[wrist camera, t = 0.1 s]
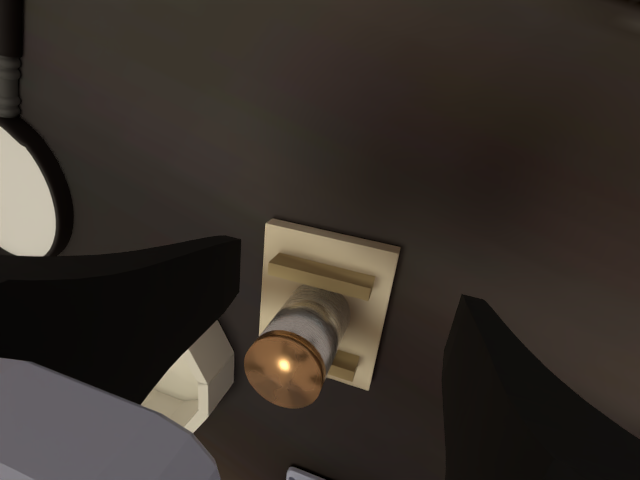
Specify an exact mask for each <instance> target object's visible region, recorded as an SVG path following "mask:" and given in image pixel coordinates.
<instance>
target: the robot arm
mask: <svg viewBox="0 0 640 480" xmlns="http://www.w3.org/2000/svg"><path fill="white" fill-rule="evenodd" d="M240 255H241V239H237V238H233V237H229V236H213V237H207V238H201V239H196V240H191V241H186V242H181V243H176V244H171V245H166V246H160V247H154V248H148V249H143V250H137V251H130V252H122V253H112V254H101V255H82V256H13V255H0V480H221V479H220V475H219V472H218V468H217V465H216V462H215V459H214V458H213V457H212V456H211V454H210V453H209V452H208V451H207V450H206V448H205V447H204V446H203V445H202V444H201V442H200V441H199V440H198V439H197V438H196V436H195V435H194V434H193V433H192V432H191V431H189V430H187V429H186V428H184V427H183V426H181V425H179V424H178V423H176V422H175V421H173V420H171V419H170V418H168V417H166V416H165V415H163V414H162V413H159V412H157V411H154V410H152V409H149V408H147V407H144V406H142V405H141V404H142V403H143V401H144V400H145V399H146V397H147V396H148V395H149V393H150V392H151V391H152V389H153V388H154V387H155V386H156V385H157V383H158V382H159V381H160V380H161V378H162V377H163V376H164V375H165V373H166V372H167V371H168V370H169V368H170V367H171V366H172V365H173V364H174V363H175V362H176V361H177V360H178V359H179V358H180V357H181V356H182V355H183V354H184V353H185V352H186V351H187V350H188V349H189V348H190V347H191V346H192V345H193V344H194V343H195V342H196V341H197V340H198V339H199V338H200V337H201V336H202V335H203V334H204V333H205V332H206V331H207V330H208V329H209V328H210V327H211V326H212V325H213V324H214V322H215V321H216V320H217V319H218V318H219V317H220V316H221V315H222V314H223V313H224V312H225V311H226V309H227V308H228V307H229V305H230V304H231V303H232V301H233V300H234V298H235V297H236V295H237V294H238V293H239V283H240ZM442 394H443V412H444V429H445V446H446V477H445V480H640V439H638V438H637V437H635V436H634V435H632V434H631V433H629V432H628V431H626V430H625V429H623V428H622V427H620V426H619V425H618V424H616V423H615V422H613V421H612V420H611V419H609V418H608V417H607V416H605V415H604V414H603V413H601V412H600V411H598V410H597V409H596V408H594V407H593V406H592V405H590V404H589V403H588V402H586V401H585V400H584V399H583V398H581V397H580V396H579V395H578V394H576V393H575V392H574V391H573V390H572V389H570V388H569V387H568V386H567V385H566V384H565V383H563V382H562V381H561V380H560V379H559V378H557V377H556V376H555V375H554V374H553V373H552V372H551V371H550V370H549V369H548V368H546V367H545V366H544V365H543V364H542V363H541V362H540V361H539V360H538V359H537V358H536V357H535V356H534V355H533V354H532V353H531V352H530V351H529V350H528V349H527V348H526V347H525V346H524V344H523V343H522V342H521V341H520V340H519V339H518V338H517V337H516V336H515V335H514V334H513V332H512V331H511V330H510V329H509V328H508V327H507V326H506V324H505V323H504V322H503V321H502V320H501V319H500V317H499V316H498V315H497V314H496V313H495V311H494V310H493V309H492V308H491V307H490V306H489V304H488V303H487V302H486V301H485V300H483V299H479V298H475V297H471V296H467V295H463V294H462V295H461V299H460V302H459V305H458V308H457V311H456V314H455V318H454V321H453V324H452V327H451V330H450V334H449V337H448V340H447V343H446V346H445V349H444V358H443V370H442ZM286 480H326V479H323V478H321V477H318V476H315V475H313V474H310V473H308V472H305V471H303V470H300V469H298V468H295V467H289V469H288V471H287V476H286Z"/></svg>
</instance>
